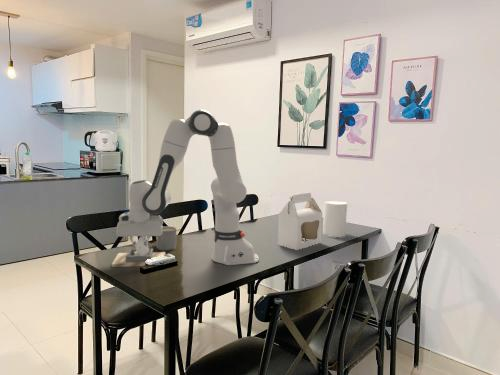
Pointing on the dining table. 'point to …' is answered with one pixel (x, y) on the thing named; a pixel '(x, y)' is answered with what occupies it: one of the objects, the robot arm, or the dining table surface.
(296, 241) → the gable box
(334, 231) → the canister
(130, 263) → the mounting board
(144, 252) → the white wedge bracket
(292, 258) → the dining table surface
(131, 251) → the back box
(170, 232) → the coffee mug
